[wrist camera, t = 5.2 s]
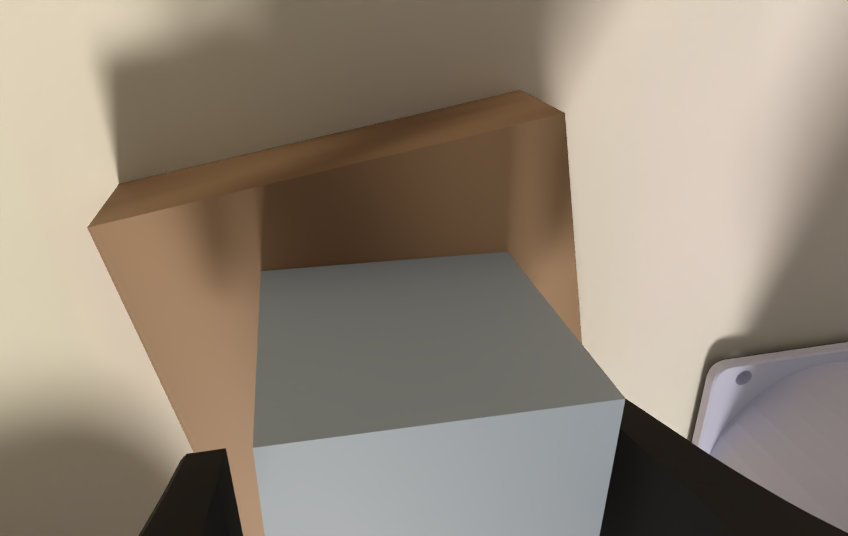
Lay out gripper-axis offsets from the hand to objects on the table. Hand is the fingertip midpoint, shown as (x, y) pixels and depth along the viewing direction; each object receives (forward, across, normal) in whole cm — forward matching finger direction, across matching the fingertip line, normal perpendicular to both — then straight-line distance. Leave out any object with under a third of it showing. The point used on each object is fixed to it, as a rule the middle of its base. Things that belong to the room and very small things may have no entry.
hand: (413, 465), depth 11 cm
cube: (+3, 0, 0) cm, 3 cm away
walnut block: (+6, 0, 0) cm, 6 cm away
